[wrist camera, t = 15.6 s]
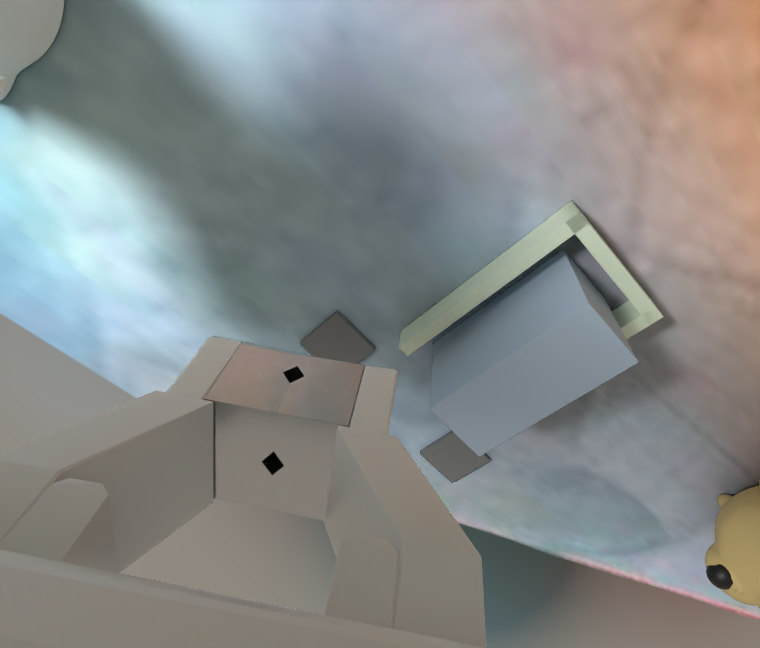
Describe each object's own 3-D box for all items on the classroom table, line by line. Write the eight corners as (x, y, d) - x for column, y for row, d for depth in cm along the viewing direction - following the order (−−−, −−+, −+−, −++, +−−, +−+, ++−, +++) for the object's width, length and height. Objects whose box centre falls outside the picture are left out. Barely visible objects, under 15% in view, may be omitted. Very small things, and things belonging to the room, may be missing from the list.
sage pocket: (480, 409, 54) (481, 429, 52) (401, 330, 51) (398, 347, 48) (651, 300, 47) (663, 316, 44) (571, 200, 44) (579, 211, 41)
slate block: (474, 384, 53) (479, 456, 44) (433, 342, 51) (429, 408, 43) (604, 299, 47) (638, 362, 39) (563, 248, 46) (588, 302, 37)
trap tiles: (451, 479, 59) (451, 483, 58) (301, 341, 53) (299, 343, 52) (489, 457, 57) (490, 461, 56) (337, 310, 51) (336, 313, 50)
